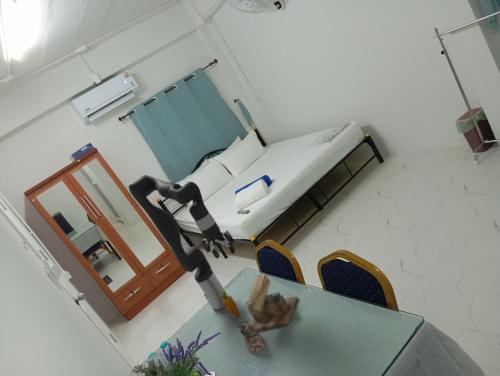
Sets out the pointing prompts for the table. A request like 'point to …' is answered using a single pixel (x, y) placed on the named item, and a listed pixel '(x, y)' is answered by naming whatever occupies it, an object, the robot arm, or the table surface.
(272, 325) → the ridge stand
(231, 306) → the carrot
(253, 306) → the oak batten
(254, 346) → the figurine
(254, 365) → the table surface
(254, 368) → the table surface
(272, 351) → the table surface
